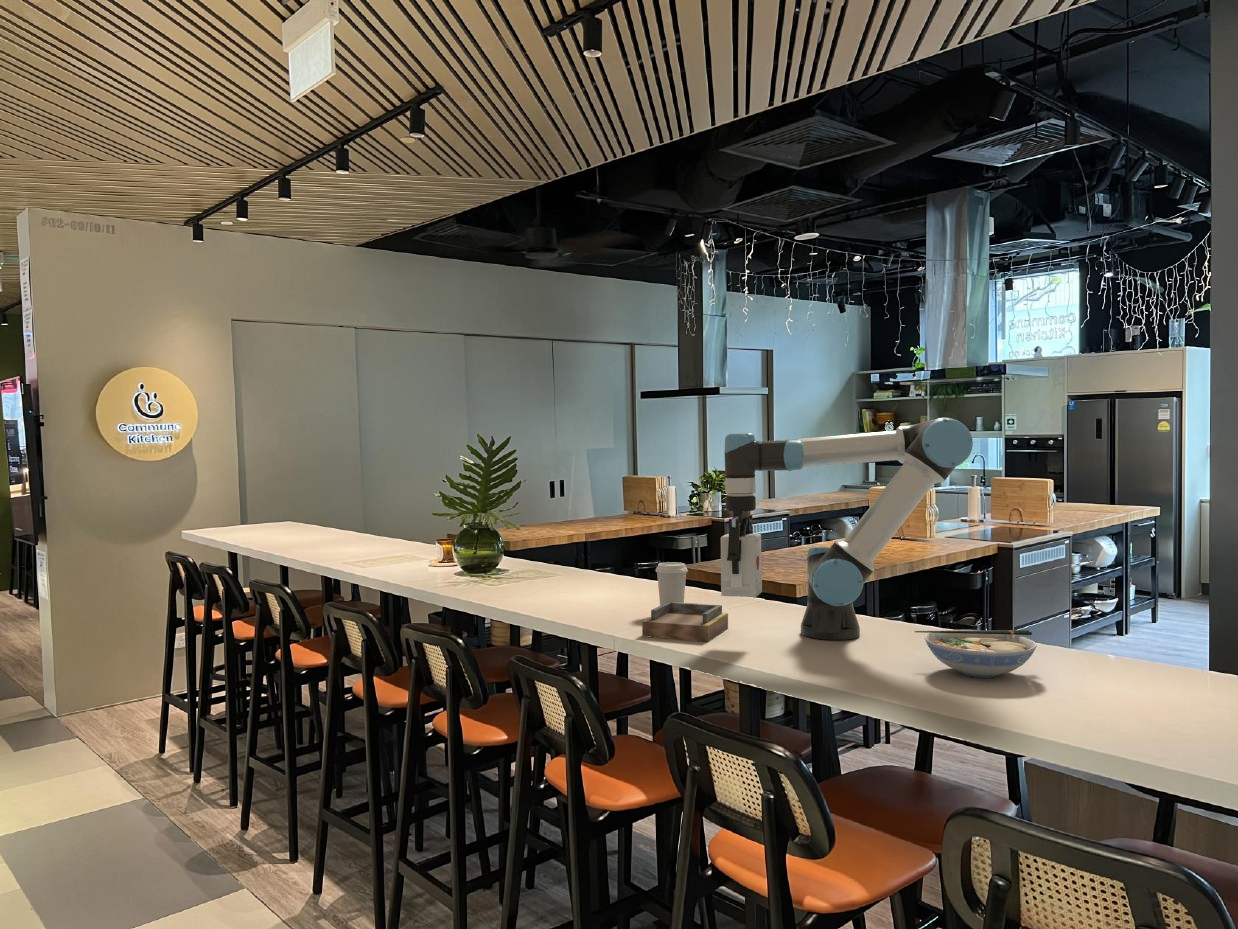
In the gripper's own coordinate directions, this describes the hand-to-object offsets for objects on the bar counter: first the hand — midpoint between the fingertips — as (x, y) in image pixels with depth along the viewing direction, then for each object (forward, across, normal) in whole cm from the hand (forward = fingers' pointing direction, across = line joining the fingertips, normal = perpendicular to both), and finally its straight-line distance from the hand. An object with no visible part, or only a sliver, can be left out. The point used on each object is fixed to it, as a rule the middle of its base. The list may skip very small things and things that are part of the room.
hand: (742, 584), depth 226 cm
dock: (+15, -7, -18) cm, 24 cm away
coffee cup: (+15, -30, -30) cm, 45 cm away
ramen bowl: (+16, +10, +55) cm, 59 cm away
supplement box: (+3, 0, 0) cm, 3 cm away
